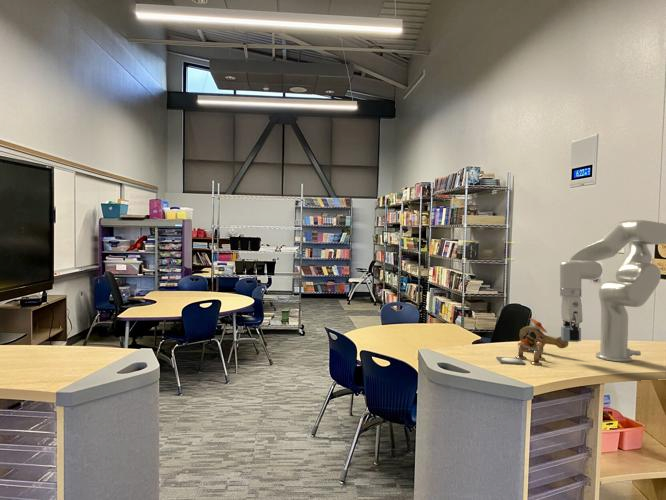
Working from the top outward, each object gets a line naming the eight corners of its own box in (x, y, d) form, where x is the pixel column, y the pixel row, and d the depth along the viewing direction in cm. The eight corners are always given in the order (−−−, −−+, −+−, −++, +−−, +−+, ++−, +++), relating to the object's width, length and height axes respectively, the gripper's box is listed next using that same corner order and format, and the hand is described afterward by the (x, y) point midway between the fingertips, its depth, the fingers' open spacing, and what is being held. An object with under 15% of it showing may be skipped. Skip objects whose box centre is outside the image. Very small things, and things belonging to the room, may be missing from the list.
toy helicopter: (524, 347, 211) (525, 316, 210) (572, 356, 194) (572, 323, 194) (515, 349, 205) (515, 318, 205) (562, 358, 189) (563, 324, 189)
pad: (519, 359, 186) (519, 357, 186) (525, 364, 177) (525, 363, 177) (496, 358, 187) (496, 356, 187) (500, 363, 179) (501, 361, 179)
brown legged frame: (542, 358, 189) (543, 341, 189) (553, 366, 176) (553, 347, 176) (514, 356, 191) (514, 339, 191) (522, 364, 178) (523, 346, 178)
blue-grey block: (576, 338, 187) (576, 326, 187) (582, 341, 181) (582, 329, 181) (559, 338, 188) (559, 325, 188) (565, 341, 182) (565, 328, 182)
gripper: (589, 295, 175) (589, 343, 175) (572, 290, 192) (573, 334, 192) (568, 295, 176) (568, 342, 176) (553, 290, 193) (553, 333, 193)
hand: (570, 337), depth 184 cm, fingers closed on blue-grey block, 6 cm apart
